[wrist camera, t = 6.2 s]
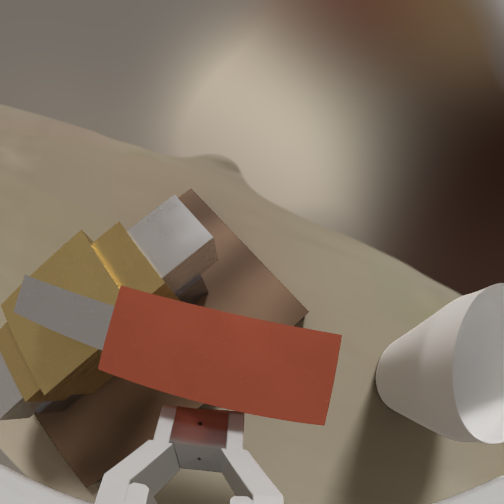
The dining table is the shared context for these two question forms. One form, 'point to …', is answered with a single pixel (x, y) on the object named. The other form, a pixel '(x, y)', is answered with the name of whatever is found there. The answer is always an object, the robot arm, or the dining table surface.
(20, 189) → the dining table surface
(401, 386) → the cup
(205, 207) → the board
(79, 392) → the valve
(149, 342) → the lever
